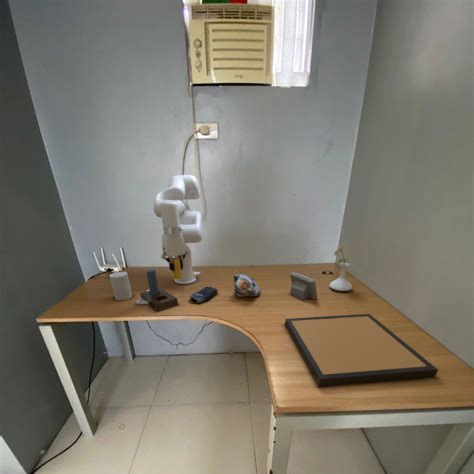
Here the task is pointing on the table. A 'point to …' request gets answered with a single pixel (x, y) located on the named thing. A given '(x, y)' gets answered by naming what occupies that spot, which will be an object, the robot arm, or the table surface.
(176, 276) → the mustard peg
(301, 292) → the digital clock
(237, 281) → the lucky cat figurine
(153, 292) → the blue peg
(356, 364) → the cork board
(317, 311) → the table surface
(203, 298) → the electronic device
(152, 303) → the stand
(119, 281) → the cup
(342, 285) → the flower in vase
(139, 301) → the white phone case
